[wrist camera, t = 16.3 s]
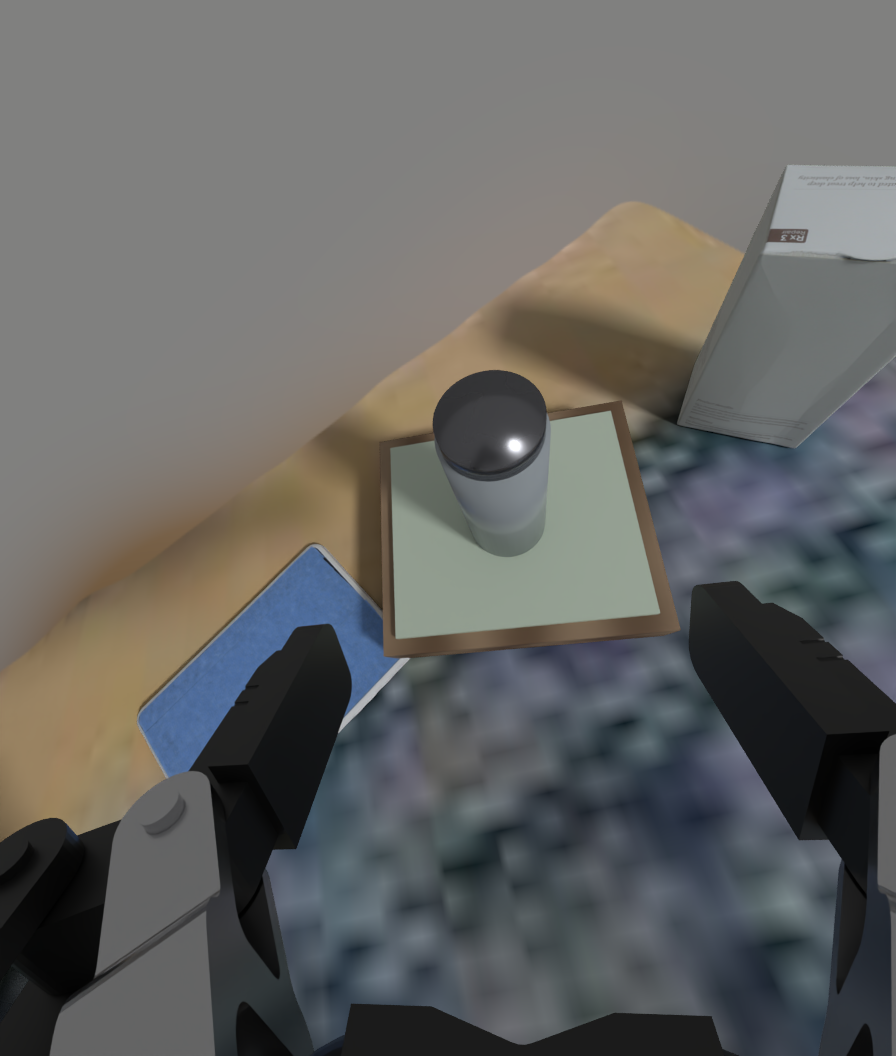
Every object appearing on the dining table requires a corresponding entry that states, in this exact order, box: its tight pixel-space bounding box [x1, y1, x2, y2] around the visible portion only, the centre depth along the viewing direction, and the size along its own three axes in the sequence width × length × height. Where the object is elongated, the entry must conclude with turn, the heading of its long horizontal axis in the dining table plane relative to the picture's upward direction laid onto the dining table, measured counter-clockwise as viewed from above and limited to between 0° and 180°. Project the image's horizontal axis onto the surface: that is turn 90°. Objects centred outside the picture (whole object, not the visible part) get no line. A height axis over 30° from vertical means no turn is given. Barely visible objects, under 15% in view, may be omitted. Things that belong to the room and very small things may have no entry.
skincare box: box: [677, 165, 896, 448], centre depth 25 cm, size 8×6×15 cm
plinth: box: [380, 401, 680, 659], centre depth 30 cm, size 18×16×4 cm
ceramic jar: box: [433, 370, 551, 557], centre depth 23 cm, size 5×5×12 cm
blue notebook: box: [137, 544, 410, 778], centre depth 32 cm, size 19×13×1 cm, turn 135°
